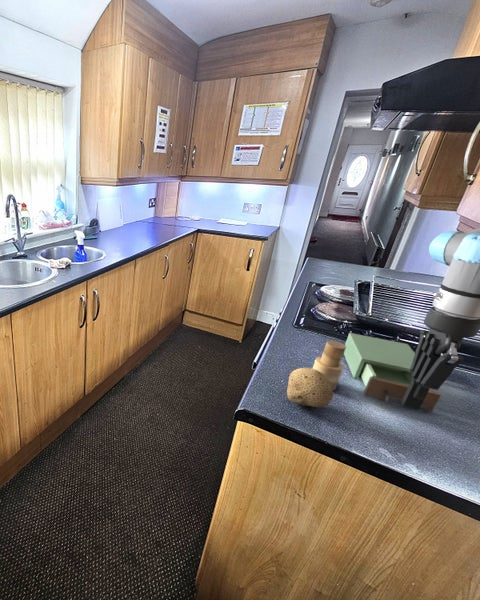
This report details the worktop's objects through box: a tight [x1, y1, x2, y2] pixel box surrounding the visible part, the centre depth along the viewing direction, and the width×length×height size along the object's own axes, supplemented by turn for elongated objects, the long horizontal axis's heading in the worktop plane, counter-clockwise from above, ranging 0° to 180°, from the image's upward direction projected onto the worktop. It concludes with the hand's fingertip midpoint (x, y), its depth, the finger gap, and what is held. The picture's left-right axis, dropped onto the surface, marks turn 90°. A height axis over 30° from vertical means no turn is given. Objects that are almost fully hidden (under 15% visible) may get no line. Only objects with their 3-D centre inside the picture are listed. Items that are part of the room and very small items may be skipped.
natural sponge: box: [286, 367, 334, 408], centre depth 78 cm, size 9×9×10 cm
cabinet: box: [343, 332, 415, 381], centre depth 92 cm, size 17×14×7 cm
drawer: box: [360, 362, 442, 413], centre depth 83 cm, size 20×13×5 cm, turn 152°
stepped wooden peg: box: [312, 340, 346, 392], centre depth 85 cm, size 6×6×12 cm
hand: (409, 406), depth 74 cm, fingers closed
